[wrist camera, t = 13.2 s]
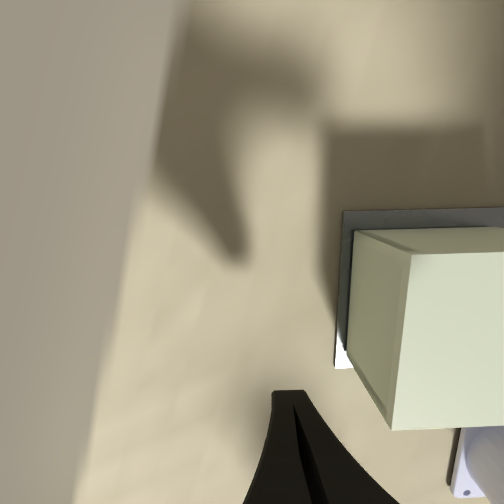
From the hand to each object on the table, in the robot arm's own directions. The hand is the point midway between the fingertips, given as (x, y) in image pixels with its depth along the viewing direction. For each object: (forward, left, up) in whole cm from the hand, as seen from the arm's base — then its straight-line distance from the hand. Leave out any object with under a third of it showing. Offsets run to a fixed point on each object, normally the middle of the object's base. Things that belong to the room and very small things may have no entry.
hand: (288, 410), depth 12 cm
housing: (-9, -3, -6) cm, 11 cm away
